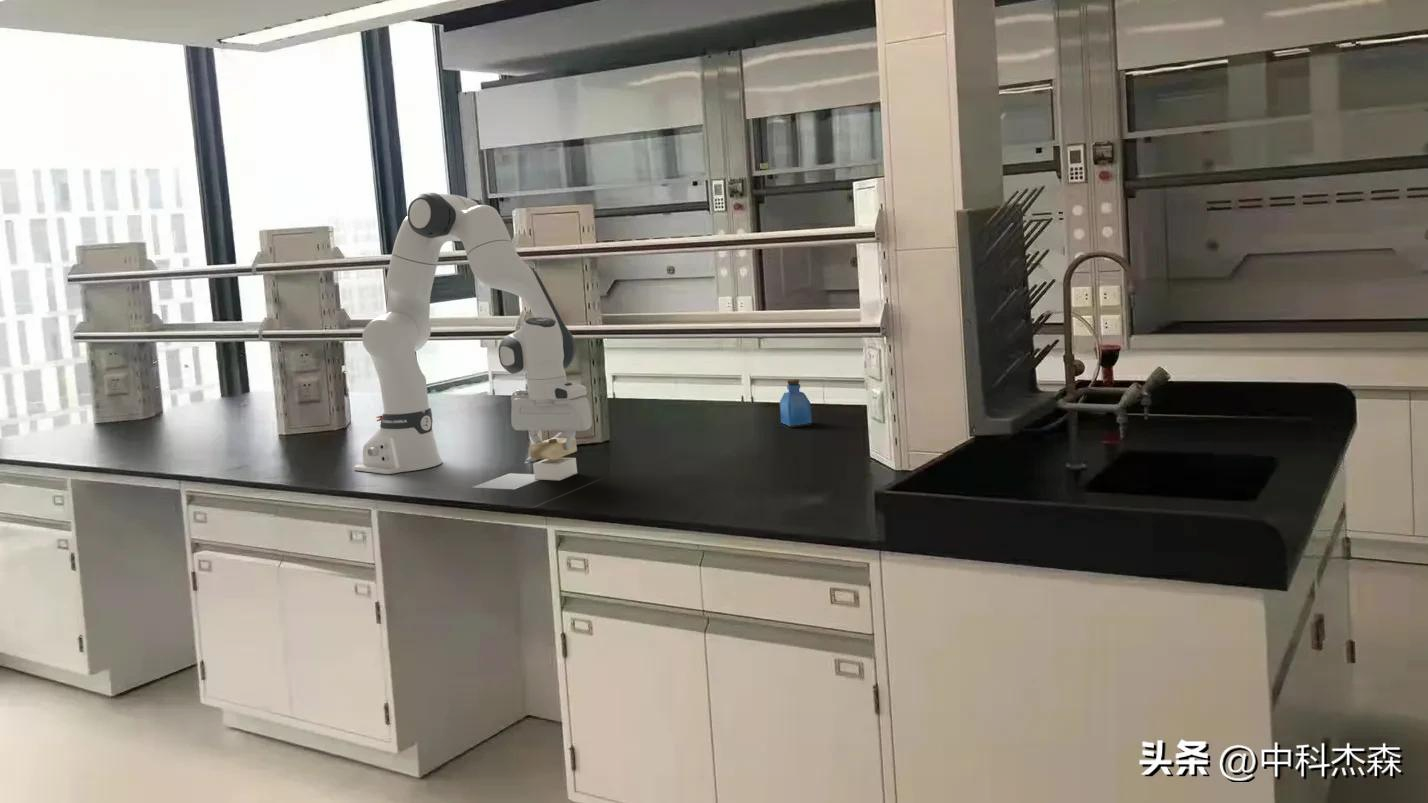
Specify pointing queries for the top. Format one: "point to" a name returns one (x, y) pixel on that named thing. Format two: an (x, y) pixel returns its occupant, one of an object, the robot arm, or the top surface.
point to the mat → (508, 481)
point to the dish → (555, 468)
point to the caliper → (559, 435)
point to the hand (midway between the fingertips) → (553, 449)
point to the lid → (551, 449)
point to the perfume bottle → (794, 405)
